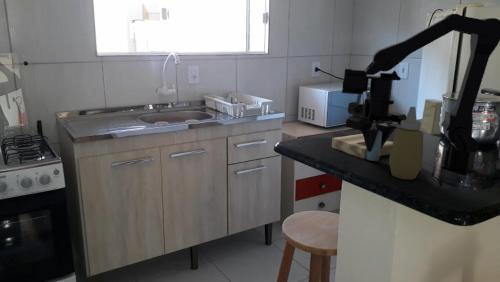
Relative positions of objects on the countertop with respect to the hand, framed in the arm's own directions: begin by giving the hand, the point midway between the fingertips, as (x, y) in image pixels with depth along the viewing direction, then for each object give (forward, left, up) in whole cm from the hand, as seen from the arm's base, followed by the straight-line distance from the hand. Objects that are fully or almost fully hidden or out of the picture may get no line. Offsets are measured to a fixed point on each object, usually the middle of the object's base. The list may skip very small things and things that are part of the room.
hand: (373, 150), depth 118 cm
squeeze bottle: (-13, +3, -3) cm, 13 cm away
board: (+9, -6, -3) cm, 11 cm away
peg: (0, 0, -2) cm, 2 cm away
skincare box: (+15, -47, -3) cm, 49 cm away
